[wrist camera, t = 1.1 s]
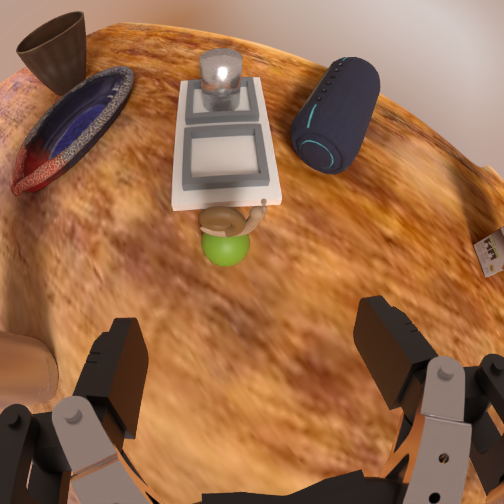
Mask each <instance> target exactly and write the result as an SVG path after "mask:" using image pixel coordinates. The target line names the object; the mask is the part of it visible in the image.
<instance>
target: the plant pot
mask: <svg viewBox="0 0 504 504" xmlns="http://www.w3.org/2000/svg"><path fill="white" fill-rule="evenodd" d="M16 52H17V54H18V55H19V56H20V58H21V59H22V61H23V62H24V63H25V65H26V66H27V67H28V68H29V70H30V71H31V72H32V73H33V74H34V75H35V76H36V77H37V78H38V79H39V80H40V81H41V82H42V83H43V84H45V85H46V86H47V87H48V88H49V89H51V90H52V91H53V92H55V93H56V94H58V95H65V94H66V93H67V92H69V91H70V90H71V89H72V88H74V87H75V86H77V85H78V84H80V83H81V82H83V81H84V80H85V73H86V32H85V21H84V14H83V12H80V11H76V12H71V13H67V14H64V15H61V16H59V17H57V18H54V19H52V20H50V21H48V22H47V23H45V24H43V25H42V26H40V27H38V28H37V29H36V30H34V31H33V32H32V33H30V34H29V35H28V36H27V37H26V38H25V39H23V41H22V42H21V43H20V44H19V45H18V47H17V49H16Z"/></svg>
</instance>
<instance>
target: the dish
mask: <svg viewBox="0 0 504 504" xmlns="http://www.w3.org/2000/svg"><path fill="white" fill-rule="evenodd" d="M133 82H134V73H133V70H131V69H130V68H128V67H126V66H118V67H113V68H109V69H106V70H104V71H101V72H99V73H97V74H95V75H93V76H91V77H89V78H88V79H86V80H84V81H83V82H81V83H80V84H78V85H77V86H75V87H74V88H72V89H71V90H70V91H69V92H67V93H66V94H65V95H64V96H62V97H61V98H60V99H59V100H58V101H57V102H56V103H55V104H54V105H53V106H52V107H51V108H50V109H49V110H48V111H47V112H46V113H45V114H44V115H43V116H42V118H41V119H40V120H39V121H38V122H37V124H36V125H35V126H34V127H33V129H32V130H31V132H30V133H29V134H28V136H27V138H26V139H25V141H24V143H23V145H22V146H21V149H20V151H19V153H18V156H17V159H16V163H15V168H14V171H13V183H12V185H11V191H12V193H13V194H15V195H16V196H20V195H21V193H22V192H36V191H39V190H41V189H42V188H44V187H45V186H46V185H48V184H49V183H51V182H52V181H54V180H55V179H57V178H58V177H60V176H61V175H63V174H64V173H65V172H67V171H68V170H69V169H70V168H72V167H73V166H74V165H75V164H76V163H77V162H78V161H79V160H80V159H81V158H82V157H83V156H84V155H85V154H86V153H87V152H88V151H89V149H90V148H91V147H92V146H93V145H94V144H95V143H96V142H97V141H98V140H99V138H100V137H101V136H102V135H103V134H104V133H105V131H106V130H107V129H108V128H109V126H110V125H111V124H112V123H113V121H114V120H115V119H116V117H117V116H118V115H119V113H120V112H121V110H122V109H123V107H124V105H125V103H126V101H127V99H128V97H129V95H130V93H131V90H132V85H133Z"/></svg>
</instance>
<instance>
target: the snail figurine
mask: <svg viewBox="0 0 504 504" xmlns="http://www.w3.org/2000/svg"><path fill="white" fill-rule="evenodd" d="M266 203H267V200H266V199H262V200H261V204H263V206H255V207H253V208H252V209H251V210H250V216H249V217H248V219H247V220H246V221H245V218H244V216H243V215H242V214H241V213H240V212H239V211H237V210H235V209H233V208H229V207H224V206H214V207H209V208H206V209H204V210H203V211H202V212H201V213H200V214H199V222H200V224H201V225H202V227H200V229H201V230H202V231H203V232H204V233H203V236H202V249H203V252H204V254H205V256H206V257H207V258H208V259H209V260H210V261H211V262H212V263H214V264H216V265H219V266H232V265H235V264H237V263H239V262H240V261H241V260H243V258H244V257H245V256H246V254H247V252H248V250H249V245H250V240H249V235H248V233H250V232H251V231H252V230H254V229H255V228H256V226H257V225H258V224H259V222H260V220H261V219H263V218H264V215H265V213H266V212H265V211H266V210H267V207H266V206H265V204H266Z"/></svg>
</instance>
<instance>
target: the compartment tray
mask: <svg viewBox="0 0 504 504" xmlns="http://www.w3.org/2000/svg"><path fill="white" fill-rule="evenodd" d="M262 199H266V200H267V203H266V204H265V205H280V204H281V201H282V195H281V189H280V183H279V177H278V171H277V166H276V160H275V154H274V149H273V143H272V138H271V132H270V127H269V122H268V117H267V111H266V106H265V101H264V96H263V91H262V86H261V81H260V77H241V91H240V104H239V106H238V108H237V109H236V110H234V111H219V112H209V111H207V110H206V109H205V108H204V106H203V100H202V87H201V79H196V80H187V81H181V85H180V94H179V103H178V112H177V123H176V135H175V148H174V163H173V181H172V208H173V211H181V210H194V209H206V208H209V207H214V206H224V207H240V206H259V205H263V204H261V200H262Z"/></svg>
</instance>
